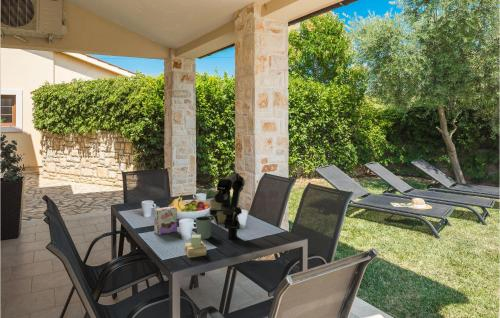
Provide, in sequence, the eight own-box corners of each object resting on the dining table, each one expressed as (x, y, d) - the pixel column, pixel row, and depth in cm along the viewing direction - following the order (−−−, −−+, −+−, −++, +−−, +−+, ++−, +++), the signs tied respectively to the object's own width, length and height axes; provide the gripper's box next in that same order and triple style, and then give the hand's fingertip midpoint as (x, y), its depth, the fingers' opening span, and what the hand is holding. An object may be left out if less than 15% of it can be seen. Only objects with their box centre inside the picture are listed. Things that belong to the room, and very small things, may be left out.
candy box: (157, 235, 221) (157, 210, 219) (154, 233, 226) (153, 208, 224) (177, 231, 229) (177, 207, 227) (173, 229, 234) (173, 205, 232)
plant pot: (219, 225, 242) (219, 203, 240) (205, 221, 252) (205, 200, 250) (234, 221, 253) (234, 200, 251) (220, 217, 263) (220, 197, 261)
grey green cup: (208, 239, 214) (208, 221, 212) (193, 238, 216) (193, 219, 214) (213, 234, 223) (213, 216, 222) (198, 233, 225) (198, 215, 224)
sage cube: (192, 243, 194) (191, 234, 193) (201, 243, 194) (200, 234, 194) (191, 246, 189) (191, 237, 188) (200, 246, 189) (200, 237, 189)
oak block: (184, 251, 194) (184, 243, 194) (201, 249, 198) (201, 241, 198) (188, 258, 185) (188, 249, 185) (206, 255, 189) (206, 246, 189)
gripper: (210, 203, 193) (210, 230, 194) (243, 201, 196) (243, 228, 198) (209, 198, 203) (209, 224, 205) (240, 197, 207) (240, 222, 209)
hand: (225, 225), depth 204 cm, fingers open, 9 cm apart
